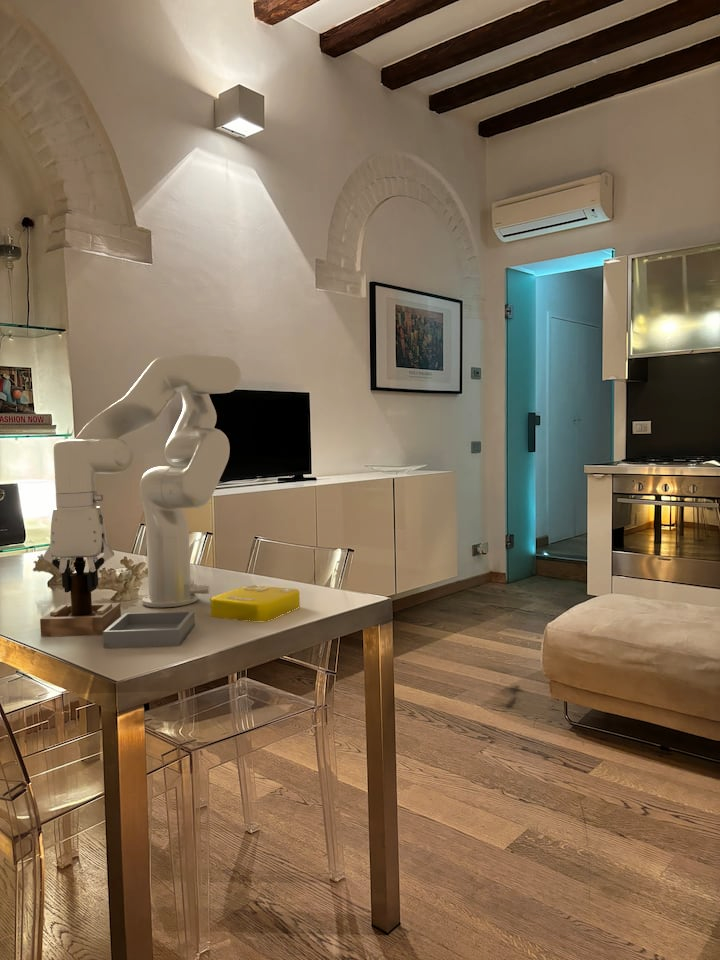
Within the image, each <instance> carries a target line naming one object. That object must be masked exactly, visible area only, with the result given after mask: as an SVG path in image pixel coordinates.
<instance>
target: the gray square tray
mask: <svg viewBox="0 0 720 960" xmlns="http://www.w3.org/2000/svg"><path fill="white" fill-rule="evenodd" d="M195 614H196V613H195V610H185V611H184V610H183V611H182V610H181V611H179V610H178V611H153V612H152V611H151V612H149V611H148V612H125V613H123V614H121V617H120V618H119V619H117V620H116V621H115V622H114V623H113V624H111V625H110V626H109V627H108V628H107V629H106V630H104V631H103V635H102V645H103V649H111V648H113V649H115V648H118V649H119V648H141V647H142V648H144V647H145V648H146V647H147V648H149V647H177V646H178V647H179V646H181V644H182V643H183V642H184V641H185V639H186V638H187V637H188V636H189V634H190V633H191V631H193V629H194V627H195V626H196V619H195V617H196V616H195Z"/></svg>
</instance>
